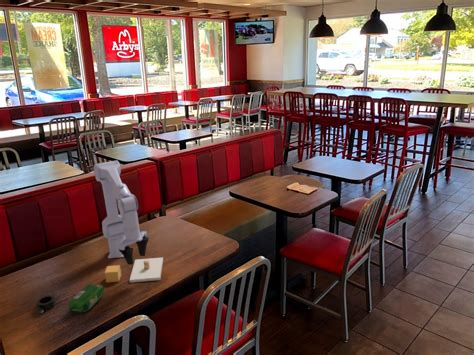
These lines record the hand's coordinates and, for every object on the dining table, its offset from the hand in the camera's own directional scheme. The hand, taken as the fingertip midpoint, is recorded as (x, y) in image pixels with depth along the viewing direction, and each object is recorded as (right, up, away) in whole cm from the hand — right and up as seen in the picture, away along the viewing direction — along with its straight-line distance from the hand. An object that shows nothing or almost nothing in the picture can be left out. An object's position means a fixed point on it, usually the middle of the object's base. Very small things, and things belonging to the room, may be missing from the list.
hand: (136, 259), depth 150 cm
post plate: (+2, -7, +10) cm, 13 cm away
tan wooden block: (-11, -9, +5) cm, 15 cm away
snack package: (-15, -14, -10) cm, 23 cm away
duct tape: (-30, -15, -11) cm, 35 cm away
